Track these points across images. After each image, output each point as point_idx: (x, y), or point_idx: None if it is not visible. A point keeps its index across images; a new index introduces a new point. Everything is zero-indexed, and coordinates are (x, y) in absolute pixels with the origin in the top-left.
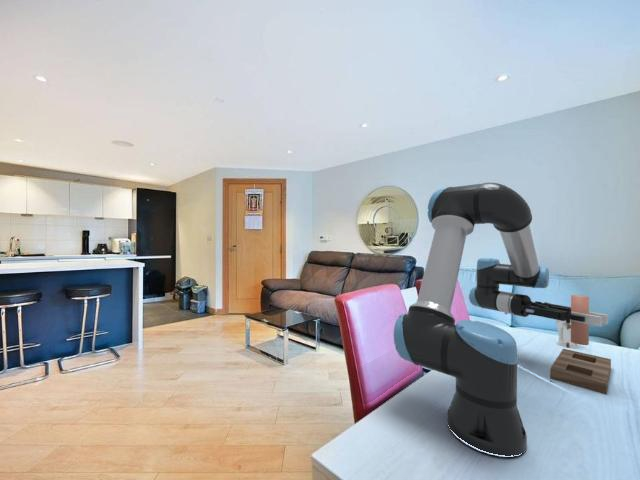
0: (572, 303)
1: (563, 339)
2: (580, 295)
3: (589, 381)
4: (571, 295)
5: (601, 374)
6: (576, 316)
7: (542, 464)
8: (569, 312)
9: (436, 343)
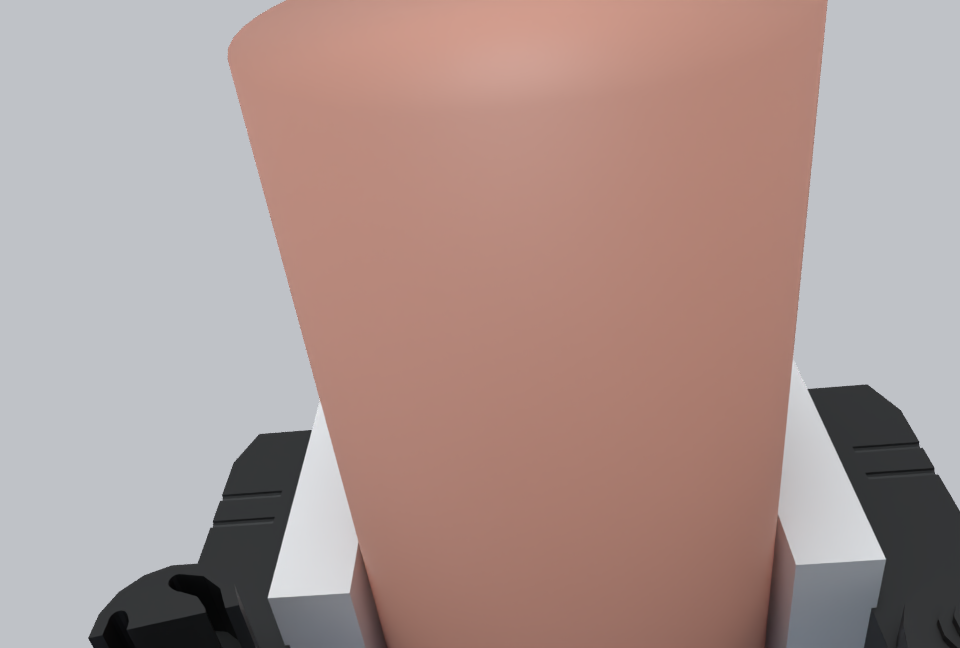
0: (769, 352)
1: None
2: (260, 48)
3: None
4: (678, 70)
5: None
6: (929, 489)
7: None
8: (956, 592)
9: None
